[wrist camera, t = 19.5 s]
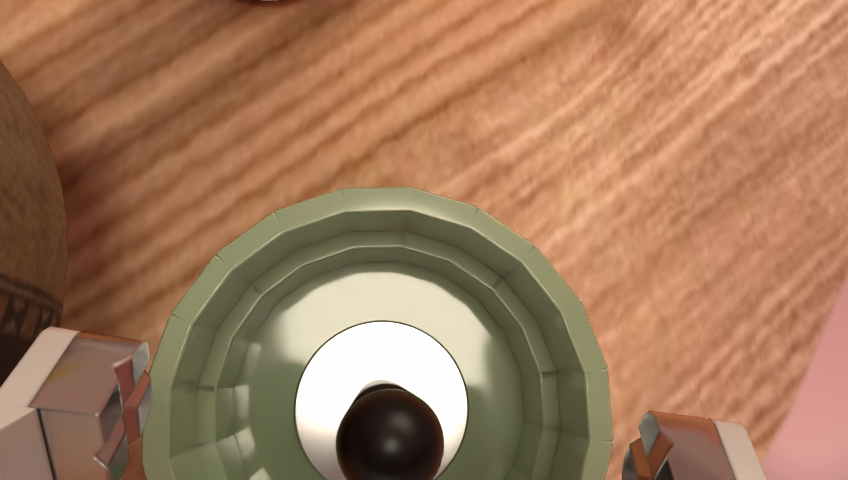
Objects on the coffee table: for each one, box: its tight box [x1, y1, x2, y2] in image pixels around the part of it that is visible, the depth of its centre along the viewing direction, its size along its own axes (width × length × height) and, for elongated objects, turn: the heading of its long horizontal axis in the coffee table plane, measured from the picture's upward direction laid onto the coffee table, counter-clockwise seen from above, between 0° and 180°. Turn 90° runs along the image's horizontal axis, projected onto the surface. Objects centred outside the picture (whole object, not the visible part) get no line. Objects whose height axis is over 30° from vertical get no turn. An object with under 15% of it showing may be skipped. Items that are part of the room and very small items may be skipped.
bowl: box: [142, 187, 613, 480], centre depth 22 cm, size 12×12×6 cm
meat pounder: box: [293, 320, 469, 480], centre depth 18 cm, size 6×6×14 cm
